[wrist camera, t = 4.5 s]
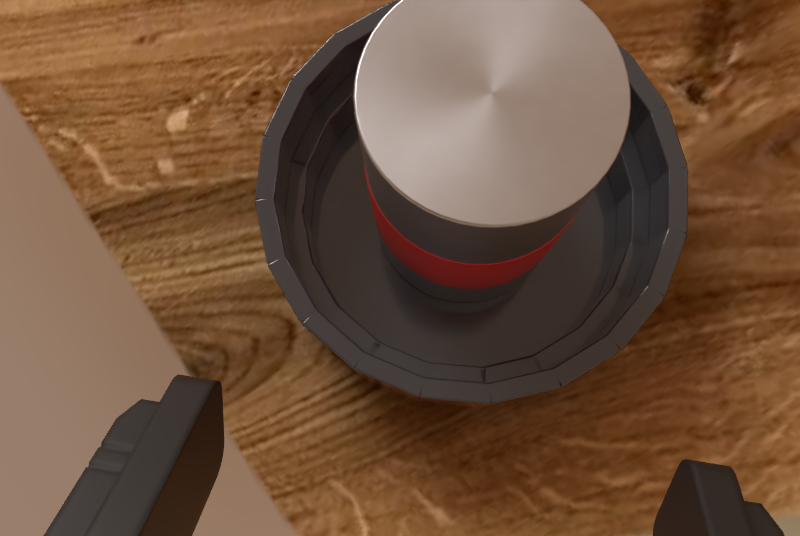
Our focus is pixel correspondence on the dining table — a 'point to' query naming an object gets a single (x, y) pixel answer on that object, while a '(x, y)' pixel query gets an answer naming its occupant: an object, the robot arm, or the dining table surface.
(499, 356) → the stoneware bowl
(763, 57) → the dining table surface
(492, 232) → the can
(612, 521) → the dining table surface
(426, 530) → the dining table surface
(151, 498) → the robot arm
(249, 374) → the dining table surface
